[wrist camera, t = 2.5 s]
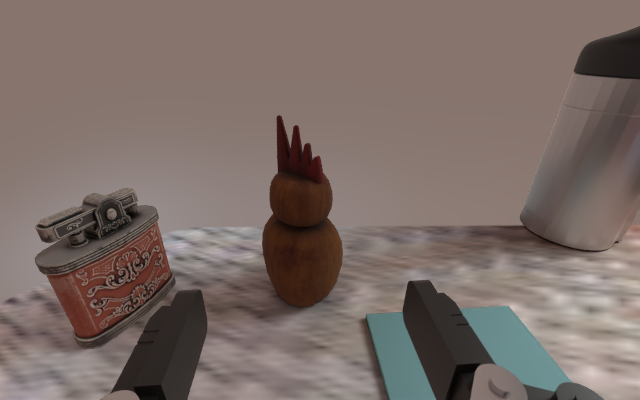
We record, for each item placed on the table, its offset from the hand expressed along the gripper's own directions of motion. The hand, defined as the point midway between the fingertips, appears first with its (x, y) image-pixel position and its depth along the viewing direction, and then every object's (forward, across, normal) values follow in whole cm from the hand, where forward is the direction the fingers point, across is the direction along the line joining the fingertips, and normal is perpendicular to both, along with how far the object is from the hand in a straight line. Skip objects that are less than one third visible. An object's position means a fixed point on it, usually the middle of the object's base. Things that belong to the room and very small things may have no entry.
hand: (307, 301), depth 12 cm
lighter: (+11, +14, +11) cm, 20 cm away
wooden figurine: (+12, 0, +10) cm, 16 cm away
